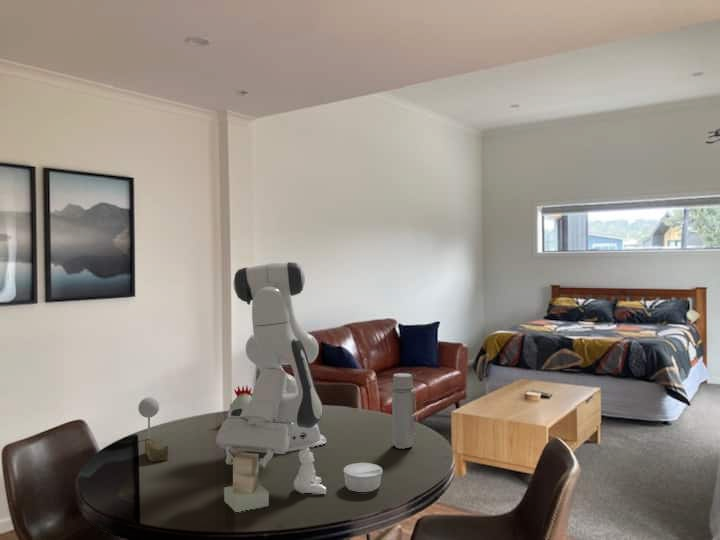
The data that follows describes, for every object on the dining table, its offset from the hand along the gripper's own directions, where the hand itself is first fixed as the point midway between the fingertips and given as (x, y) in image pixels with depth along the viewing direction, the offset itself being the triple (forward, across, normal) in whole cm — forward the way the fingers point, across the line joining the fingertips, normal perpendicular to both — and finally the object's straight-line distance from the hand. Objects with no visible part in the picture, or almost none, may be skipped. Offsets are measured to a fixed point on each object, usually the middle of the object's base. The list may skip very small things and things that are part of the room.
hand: (245, 464), depth 158 cm
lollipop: (-24, +58, -39) cm, 74 cm away
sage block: (+7, 0, -8) cm, 11 cm away
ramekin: (-6, -27, -21) cm, 35 cm away
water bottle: (-33, -33, -48) cm, 67 cm away
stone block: (-12, +45, -27) cm, 54 cm away
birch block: (+4, 0, -5) cm, 7 cm away
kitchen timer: (-44, +34, -59) cm, 81 cm away
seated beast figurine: (-2, -13, -17) cm, 22 cm away
